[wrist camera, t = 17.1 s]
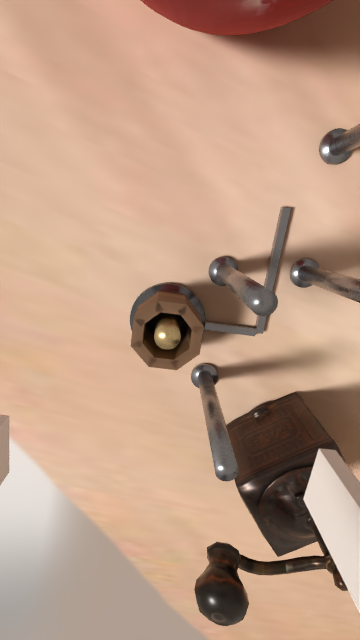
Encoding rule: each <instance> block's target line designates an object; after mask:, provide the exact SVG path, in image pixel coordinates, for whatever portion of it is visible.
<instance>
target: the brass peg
mask: <svg viewBox="0 0 360 640" xmlns="http://www.w3.org/2000/svg"><path fill="white" fill-rule="evenodd" d="M159 290H160V291H168V292H175V293H183V294H185V295H186V297H187V298H188V299H189V301H190V302H191V303H192V305H193V306H194V307H195V309H196V310H197V311H198V312H199V314H200V317H201V320H202V323H203V326H204V327H205V313H204V309H203V307H202V304H201V302H200V301H199V299H198V298H197V296H196V295H195V294H194V293H193V292H192V291H190V290H189V289H187V288H185V287H183V286H181V285H178V284H174V283H162V284H157V285H154V286H152V287H150V288H148V289H146V290H145V291H144V292H143V293H141V294H140V296H139V297H138V298H137V299H136V301H135V303H134V305H133V307H132V310H131V315H130V325H131V330H133V321H134V316H135V314H136V311H137V309H138V306H139V305H140V304H141V303H143V302H144V301H145V300H147V299H148V298H149V297H151V296H152V295H153V294H155V293H156V292H157V291H159ZM146 327H147V329H148V330H149V331H150V332H151V333H152V335H153V336H154V339H155V342H156V344H157V345H158V346H159V347H160V348H162V349H172V348H174V347H176V346H177V345H178V344H179V342H180V339H181V336H182V335H183V334H185V333H186V332H187V327H188V324H187V322H186V321H185V320H184V319H183V317H182V316H181V315H178V314H171V313H163V312H160V313H159V314H157V315H156V316H154V317H153V318H152V319H150V320H149V321H148V322H147V323H146ZM203 331H204V330H203Z"/></svg>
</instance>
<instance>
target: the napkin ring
mask: <svg viewBox="0 0 360 640" xmlns="http://www.w3.org/2000/svg"><path fill="white" fill-rule="evenodd" d="M160 312H163V313H171V314H178V315H181V316H182V317H183V319H184V320H185V321H186V322H187V324H188V327H187V332H186V333H185V334H183V335H182V336H181V339H180V342H179V344H178V345H177V346H176V347H174V348H172V349H162V348H160V347H159V346H158V345H157V344H156V342H155V339H154V336H153V335H152V333H151V332H150V331H149V330H148V329H147V327H146V323H147V322H148V321H149V320H150V319H152V318H153V317H154V316H156V315H157V314H159V313H160ZM203 330H204V326H203V323H202V320H201V317H200V314H199V312H198V311H197V310H196V309H195V307H194V306H193V305H192V303H191V302H190V301H189V299H188V298H187V297H186V295H185V294H183V293H175V292H168V291H160V290H159V291H157V292H156V293H155V294H153V295H152V296H151V297H149V298H148V299H147V300H145V301H144V302H143V303H141V304H140V305H139V306H138V309H137V311H136V314H135V316H134V321H133V330H132V339H131V347H132V348H133V349H134V350H135V351H136V352H137V354H138V355H139V356H140V357H141V358H142V359H143V361H144V362H145V363H146V364H147V365H148V366H149V367H155V368H163V369H172V370H178V369H179V368H180V367H182V366H183V365H185V364H186V363H187V362H189V361H190V360H192V359H193V358H195V357H196V356H197V355H199V354H200V348H201V342H202V336H203Z"/></svg>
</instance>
